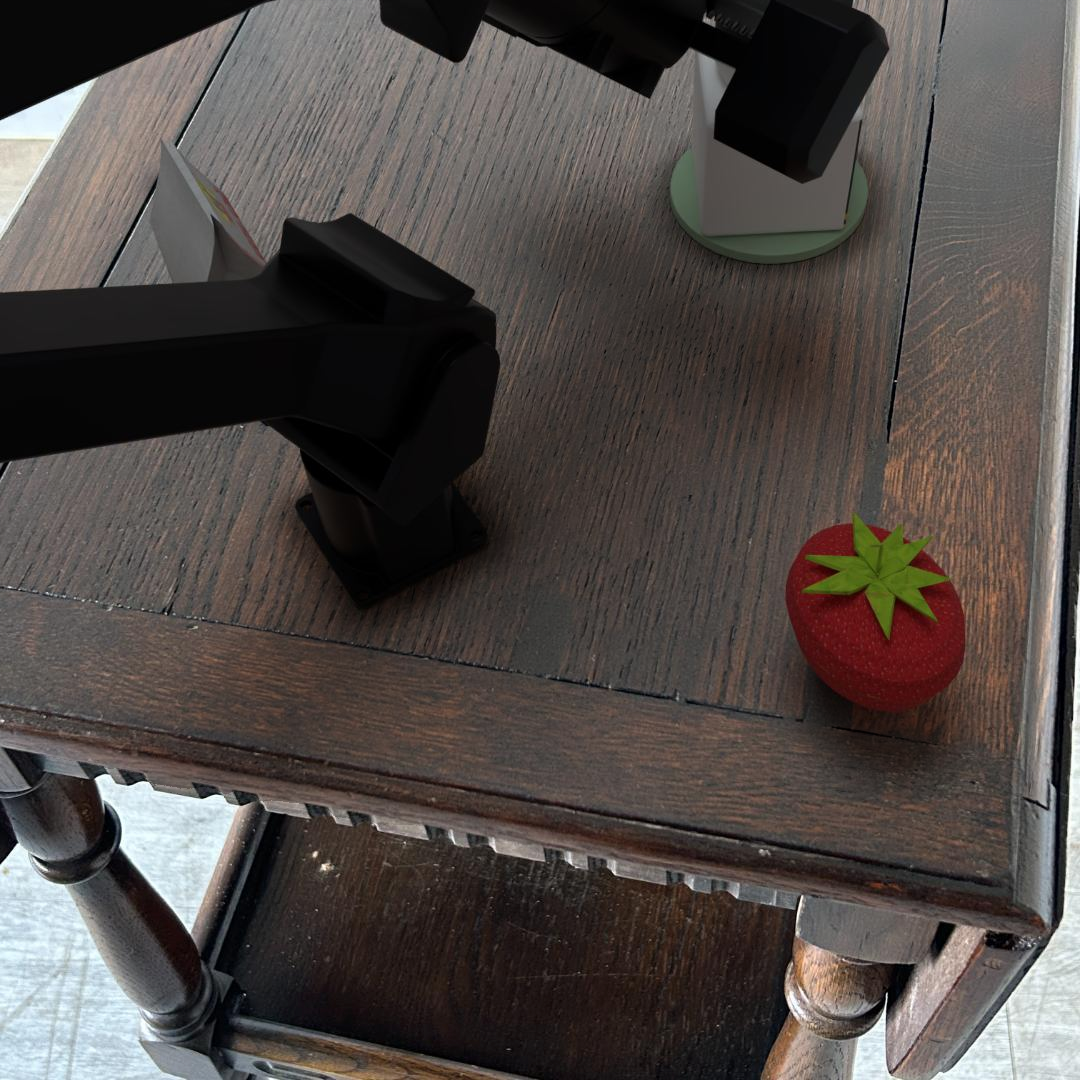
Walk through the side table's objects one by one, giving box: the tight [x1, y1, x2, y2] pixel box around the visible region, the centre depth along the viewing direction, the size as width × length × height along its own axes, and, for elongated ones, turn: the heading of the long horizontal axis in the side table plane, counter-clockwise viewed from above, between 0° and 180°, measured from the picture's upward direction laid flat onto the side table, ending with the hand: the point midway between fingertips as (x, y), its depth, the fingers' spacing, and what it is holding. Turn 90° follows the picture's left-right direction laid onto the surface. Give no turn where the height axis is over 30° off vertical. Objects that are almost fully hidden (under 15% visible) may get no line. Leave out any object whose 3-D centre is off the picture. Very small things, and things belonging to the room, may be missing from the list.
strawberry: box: [785, 511, 966, 713], centre depth 52 cm, size 6×8×10 cm
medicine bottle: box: [690, 0, 864, 236], centre depth 67 cm, size 7×7×12 cm
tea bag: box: [148, 134, 268, 283], centre depth 64 cm, size 4×7×10 cm, turn 28°
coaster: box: [669, 146, 869, 265], centre depth 72 cm, size 10×10×1 cm
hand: (731, 67), depth 62 cm, fingers open, 9 cm apart
